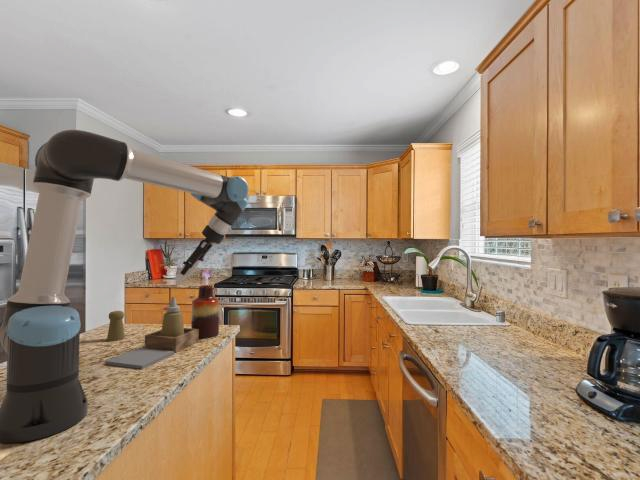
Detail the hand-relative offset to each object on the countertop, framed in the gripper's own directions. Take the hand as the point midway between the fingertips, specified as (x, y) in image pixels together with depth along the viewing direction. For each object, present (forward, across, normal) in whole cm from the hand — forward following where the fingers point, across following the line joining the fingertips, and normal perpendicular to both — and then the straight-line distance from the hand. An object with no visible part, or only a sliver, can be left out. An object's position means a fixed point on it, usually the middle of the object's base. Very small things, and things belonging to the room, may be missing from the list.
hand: (182, 277), depth 119 cm
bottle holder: (+24, 0, -11) cm, 26 cm away
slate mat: (+26, -13, -6) cm, 29 cm away
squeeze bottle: (+24, 0, -12) cm, 26 cm away
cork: (+39, +12, +8) cm, 41 cm away
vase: (+20, +14, -20) cm, 31 cm away
